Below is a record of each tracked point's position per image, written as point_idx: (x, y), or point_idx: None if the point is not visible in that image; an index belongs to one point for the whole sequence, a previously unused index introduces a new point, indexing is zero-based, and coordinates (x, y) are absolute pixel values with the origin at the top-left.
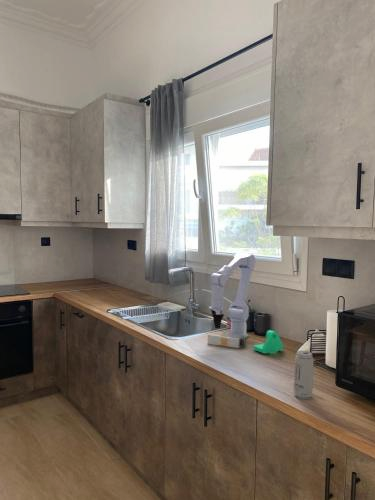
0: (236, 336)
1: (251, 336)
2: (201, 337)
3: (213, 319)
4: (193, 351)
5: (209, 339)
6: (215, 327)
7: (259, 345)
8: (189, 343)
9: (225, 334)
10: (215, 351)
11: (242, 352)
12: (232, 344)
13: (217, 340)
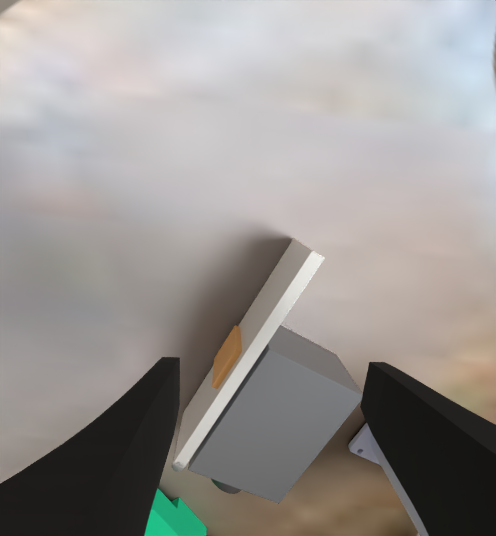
0: (250, 458)
1: None
2: (445, 206)
3: (426, 393)
4: (91, 103)
5: (292, 256)
6: (155, 364)
7: (155, 531)
8: (301, 88)
9: (306, 392)
10: (115, 273)
11: None
12: (199, 396)
13: (256, 313)
